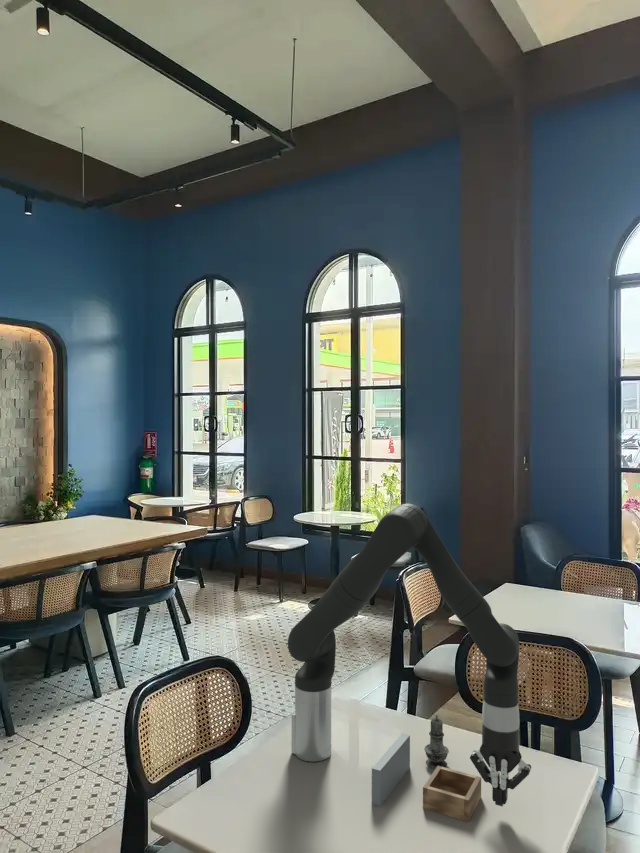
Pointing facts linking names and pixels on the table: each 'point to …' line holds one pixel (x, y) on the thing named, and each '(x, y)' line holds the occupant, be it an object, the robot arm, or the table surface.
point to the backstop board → (390, 769)
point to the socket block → (452, 793)
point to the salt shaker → (436, 745)
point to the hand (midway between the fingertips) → (500, 803)
